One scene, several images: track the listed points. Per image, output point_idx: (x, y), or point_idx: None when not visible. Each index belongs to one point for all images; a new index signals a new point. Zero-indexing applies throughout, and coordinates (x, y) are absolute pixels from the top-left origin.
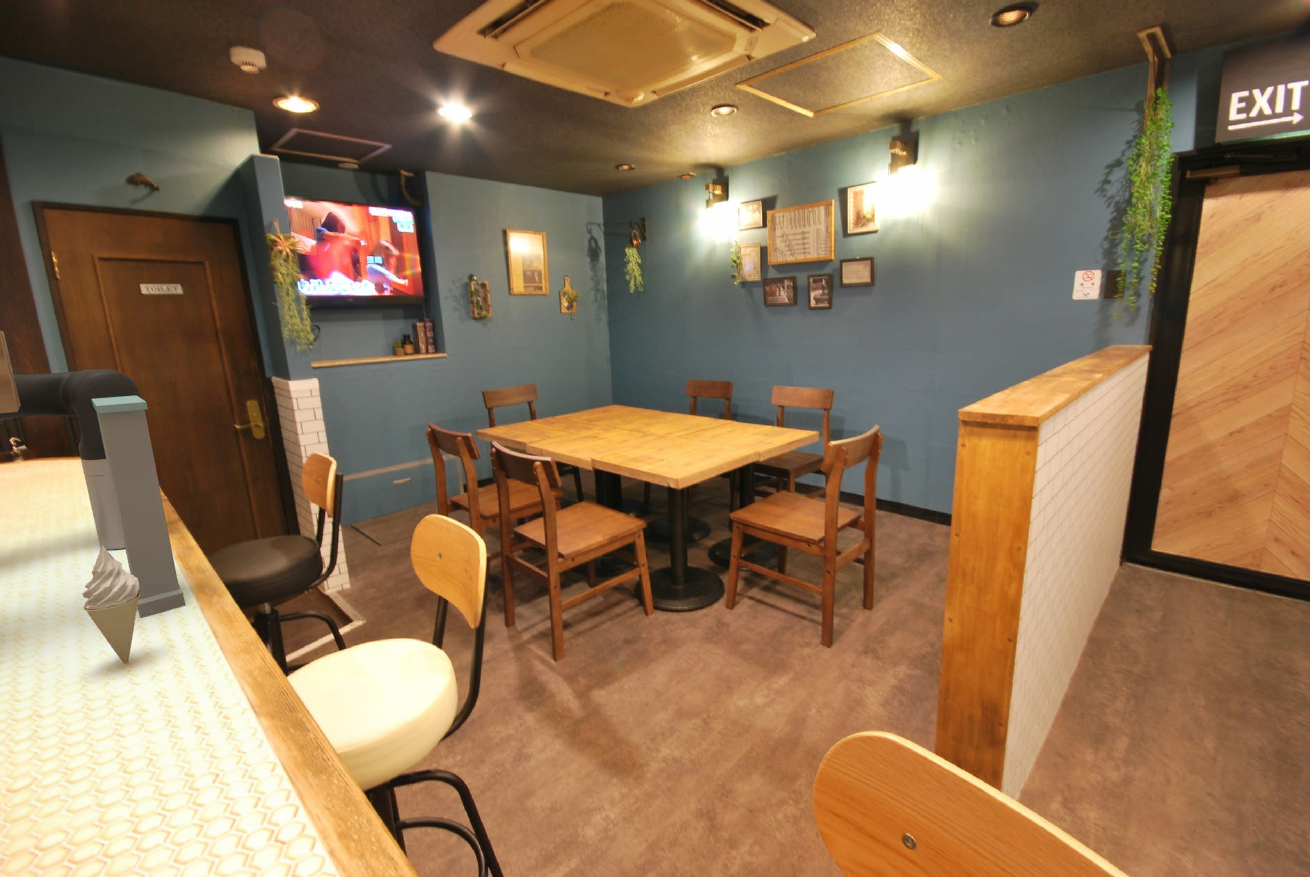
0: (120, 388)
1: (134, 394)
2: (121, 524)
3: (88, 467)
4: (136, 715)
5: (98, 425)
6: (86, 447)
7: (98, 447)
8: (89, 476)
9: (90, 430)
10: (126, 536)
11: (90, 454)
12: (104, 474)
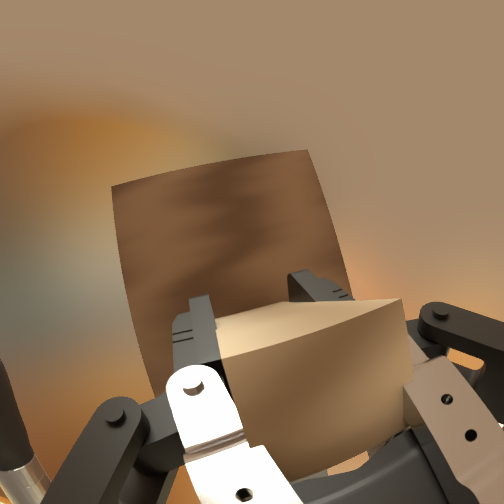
0: (2, 371)
1: (8, 378)
2: (290, 484)
3: (12, 479)
4: (499, 423)
5: (4, 424)
6: (3, 455)
7: (13, 453)
8: (17, 490)
9: (1, 432)
10: (327, 474)
11: (9, 463)
12: (31, 484)
